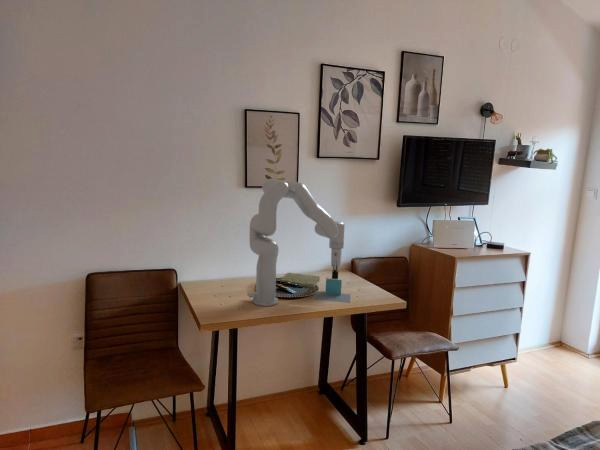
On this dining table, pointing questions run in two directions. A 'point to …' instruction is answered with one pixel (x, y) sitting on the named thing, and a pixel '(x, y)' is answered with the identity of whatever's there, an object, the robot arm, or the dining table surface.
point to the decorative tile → (301, 279)
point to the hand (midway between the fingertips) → (334, 278)
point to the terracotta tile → (333, 286)
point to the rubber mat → (332, 297)
